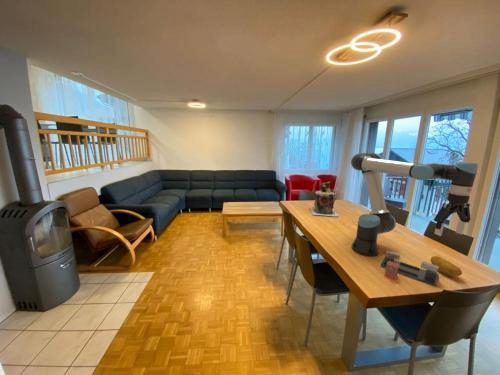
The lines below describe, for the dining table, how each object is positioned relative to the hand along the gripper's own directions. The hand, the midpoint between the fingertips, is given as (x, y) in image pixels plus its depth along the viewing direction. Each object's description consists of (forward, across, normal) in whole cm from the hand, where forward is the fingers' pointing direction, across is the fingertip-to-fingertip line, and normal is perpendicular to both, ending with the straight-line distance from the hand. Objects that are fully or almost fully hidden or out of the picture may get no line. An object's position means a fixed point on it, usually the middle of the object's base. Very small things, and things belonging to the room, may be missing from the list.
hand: (448, 234), depth 106 cm
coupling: (+24, -27, +3) cm, 36 cm away
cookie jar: (+26, -6, +104) cm, 107 cm away
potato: (+24, +5, +1) cm, 24 cm away
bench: (+24, -14, +5) cm, 28 cm away
